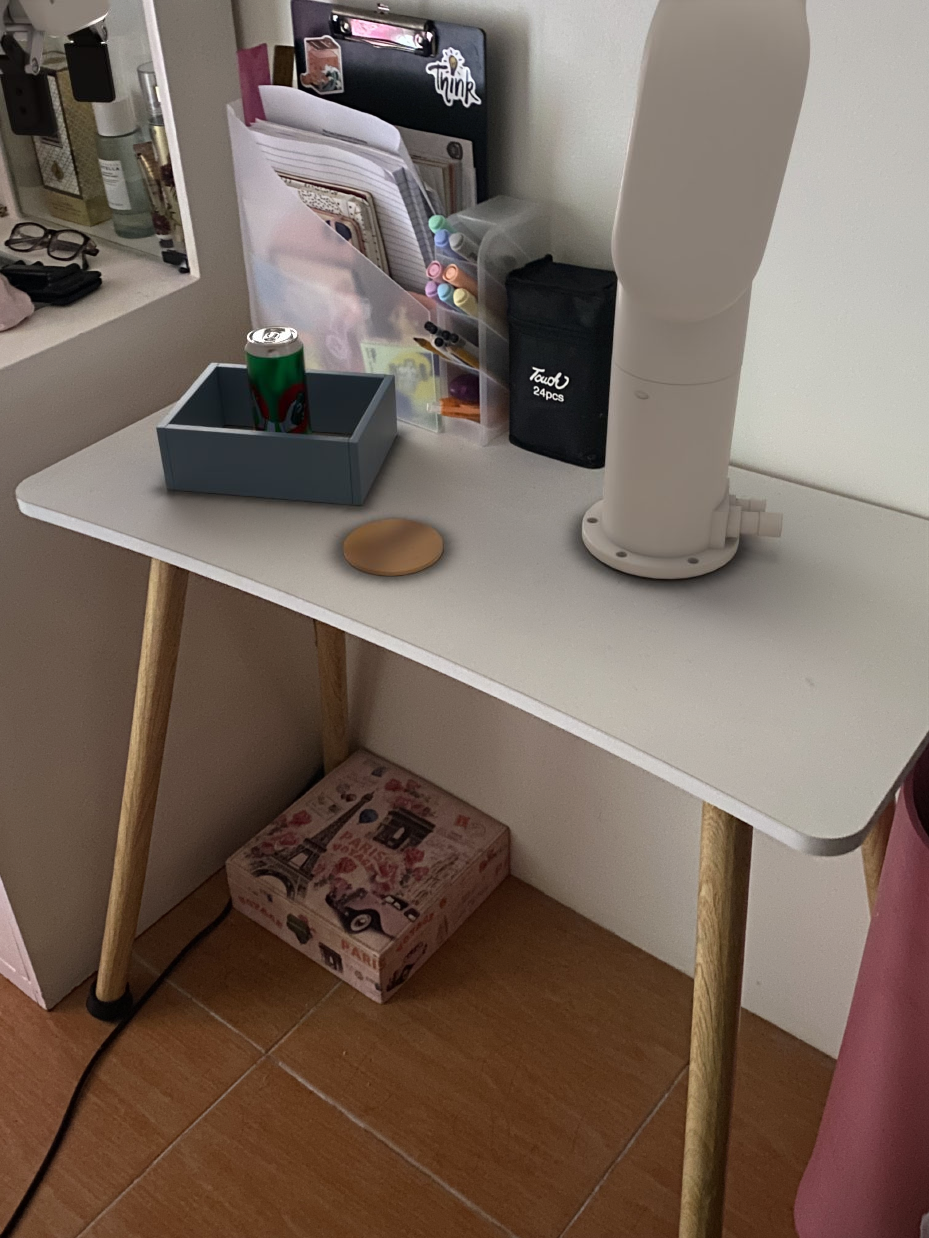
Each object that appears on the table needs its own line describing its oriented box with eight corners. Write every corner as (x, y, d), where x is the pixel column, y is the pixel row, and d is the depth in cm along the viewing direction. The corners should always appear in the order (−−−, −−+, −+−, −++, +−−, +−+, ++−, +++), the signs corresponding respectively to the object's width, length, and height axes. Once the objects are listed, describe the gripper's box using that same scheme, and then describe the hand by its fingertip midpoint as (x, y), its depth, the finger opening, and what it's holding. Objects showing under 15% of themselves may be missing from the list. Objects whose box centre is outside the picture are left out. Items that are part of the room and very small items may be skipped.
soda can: (319, 448, 113) (308, 324, 106) (308, 475, 109) (295, 347, 102) (265, 446, 113) (250, 323, 106) (252, 473, 109) (236, 346, 102)
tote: (397, 433, 115) (394, 374, 111) (361, 506, 104) (357, 442, 101) (219, 420, 118) (211, 362, 114) (166, 489, 107) (155, 427, 103)
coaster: (451, 527, 101) (451, 523, 101) (431, 580, 95) (431, 576, 94) (357, 519, 102) (357, 515, 102) (332, 570, 96) (331, 566, 96)
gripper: (2, -155, 71) (62, 151, 81) (123, -172, 85) (161, 92, 94) (-116, -155, 72) (-43, 147, 82) (22, -171, 86) (70, 89, 96)
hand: (66, 117), depth 88 cm, fingers open, 9 cm apart
